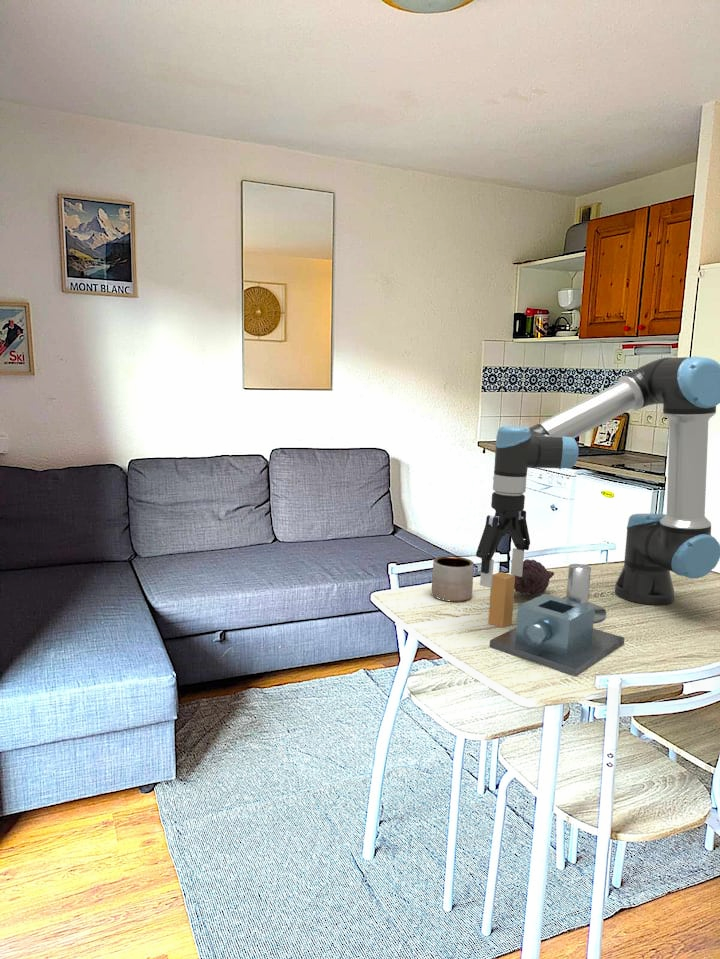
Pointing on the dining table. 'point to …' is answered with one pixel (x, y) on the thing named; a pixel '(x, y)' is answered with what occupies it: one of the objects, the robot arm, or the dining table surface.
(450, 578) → the planter
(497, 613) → the orange rectangular block
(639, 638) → the dining table surface
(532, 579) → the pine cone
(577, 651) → the grey square hole fixture
